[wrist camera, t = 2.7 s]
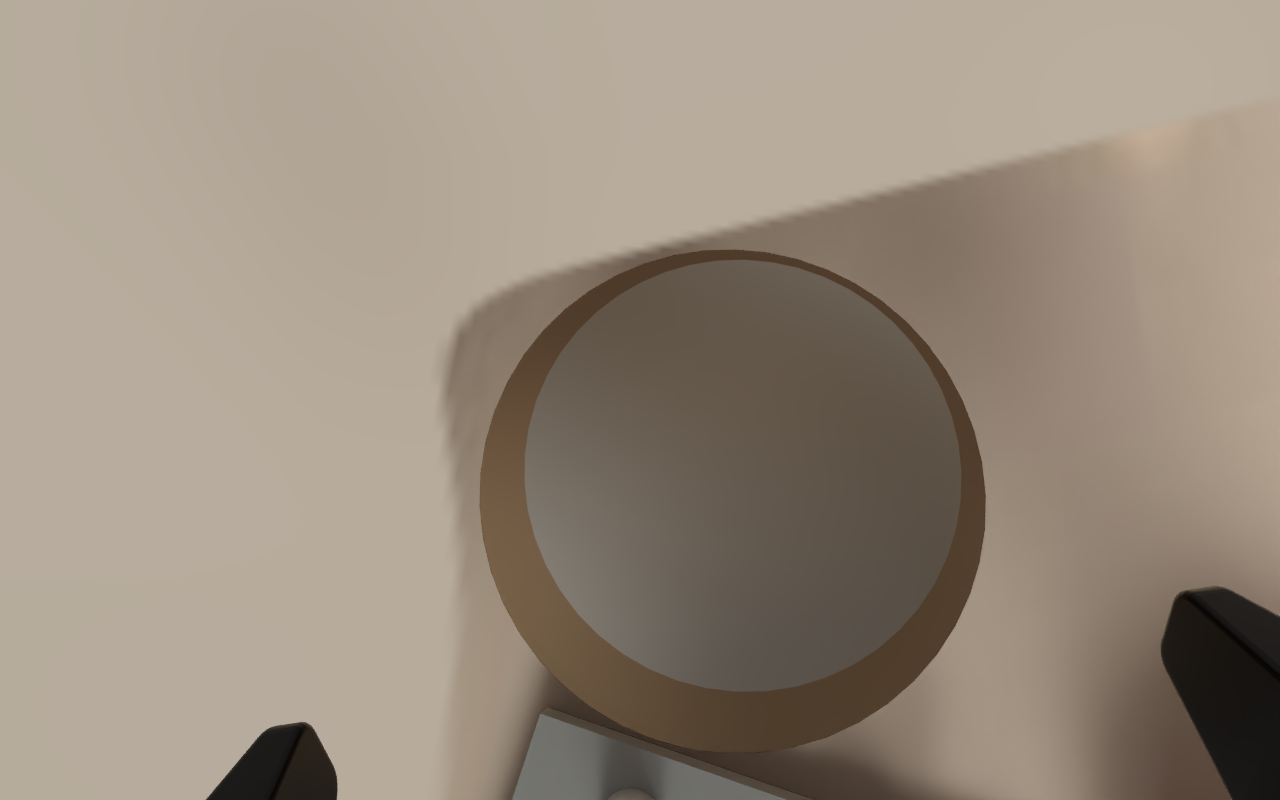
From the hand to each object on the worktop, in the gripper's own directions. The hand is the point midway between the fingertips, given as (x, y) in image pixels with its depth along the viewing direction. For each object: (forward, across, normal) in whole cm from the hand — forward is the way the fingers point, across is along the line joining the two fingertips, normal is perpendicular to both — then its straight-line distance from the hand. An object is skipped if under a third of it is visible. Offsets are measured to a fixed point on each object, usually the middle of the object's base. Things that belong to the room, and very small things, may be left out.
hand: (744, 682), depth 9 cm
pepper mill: (+8, 0, +5) cm, 10 cm away
